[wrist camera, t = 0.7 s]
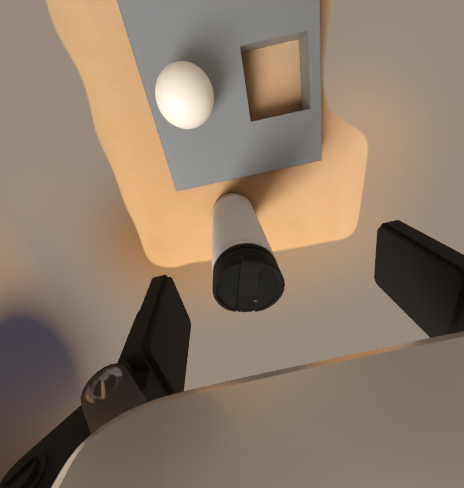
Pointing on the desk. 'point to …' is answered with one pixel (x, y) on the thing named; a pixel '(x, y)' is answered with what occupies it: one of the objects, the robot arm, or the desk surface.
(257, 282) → the travel mug
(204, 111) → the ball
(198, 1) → the plate
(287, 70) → the desk surface
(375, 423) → the robot arm
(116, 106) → the desk surface
